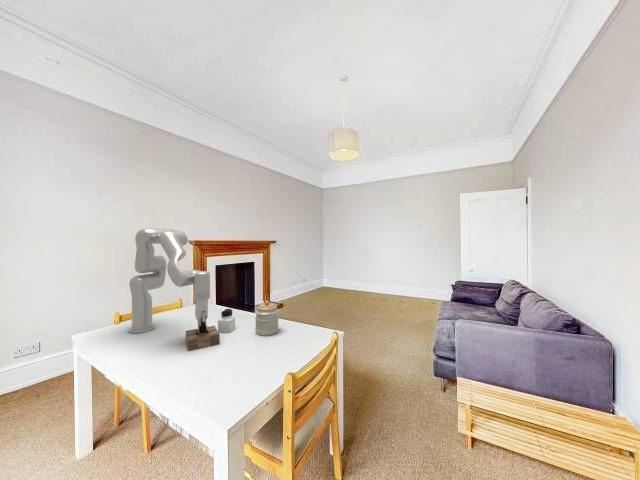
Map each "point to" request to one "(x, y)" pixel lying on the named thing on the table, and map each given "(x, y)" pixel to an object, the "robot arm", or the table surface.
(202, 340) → the socket block
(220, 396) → the table surface
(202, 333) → the peg
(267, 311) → the jar
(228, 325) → the medicine bottle
